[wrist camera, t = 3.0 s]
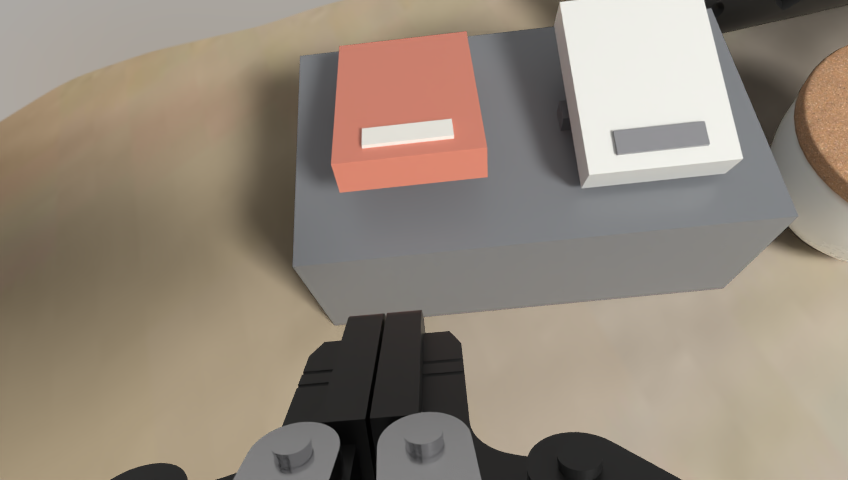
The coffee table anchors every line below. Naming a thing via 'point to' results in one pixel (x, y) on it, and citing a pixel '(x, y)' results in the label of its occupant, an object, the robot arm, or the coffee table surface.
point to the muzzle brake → (763, 11)
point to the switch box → (524, 206)
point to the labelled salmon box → (407, 114)
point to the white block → (644, 91)
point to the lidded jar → (818, 156)
